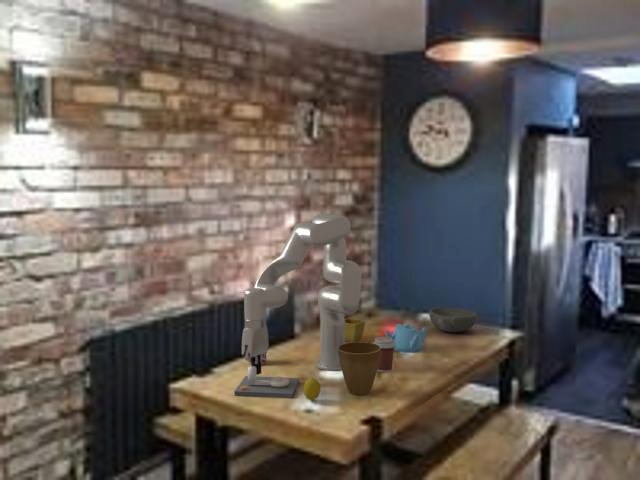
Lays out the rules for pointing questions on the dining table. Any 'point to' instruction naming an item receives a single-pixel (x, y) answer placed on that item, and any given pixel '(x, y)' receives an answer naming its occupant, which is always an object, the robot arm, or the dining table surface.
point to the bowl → (452, 318)
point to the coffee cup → (385, 353)
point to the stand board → (266, 388)
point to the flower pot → (353, 329)
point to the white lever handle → (272, 382)
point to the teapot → (407, 338)
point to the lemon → (312, 389)
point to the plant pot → (359, 365)
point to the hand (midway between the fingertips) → (256, 373)
